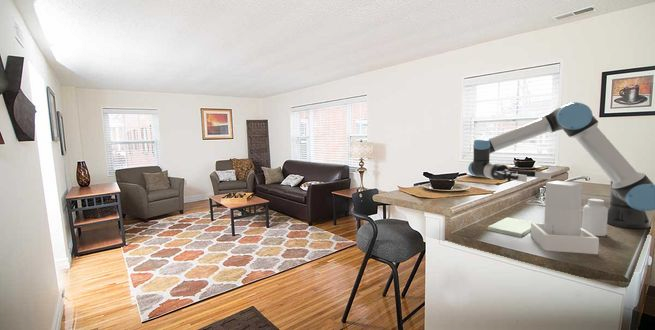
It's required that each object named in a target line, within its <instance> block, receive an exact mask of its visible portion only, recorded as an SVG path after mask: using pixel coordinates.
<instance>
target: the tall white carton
mask: <svg viewBox="0 0 655 330" xmlns="http://www.w3.org/2000/svg"><path fill="white" fill-rule="evenodd" d="M583 187H584V183H583V182H576V181H575V182H574V181H568V180H567V181H566V180H558V179H557V180H552V181H548V182H545V204H544V231H545V232H546V233H547V234H549V235H566V236H580V229H581V228H582V210H583V207H582V204H583Z"/></svg>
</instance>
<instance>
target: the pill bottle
mask: <svg viewBox="0 0 655 330" xmlns="http://www.w3.org/2000/svg"><path fill="white" fill-rule="evenodd" d="M582 210H583V211H582V219H581V228H583V229H585V230H586V231H588V232H589V233H591V234H593V235H594V236H596V237H605V236H606V235H607V229H608V223H607V218H608V207H606V206H605V200H603V199H600V198H588V199H587V204H585V205H584V206H583V207H582Z"/></svg>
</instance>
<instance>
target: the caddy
mask: <svg viewBox="0 0 655 330" xmlns="http://www.w3.org/2000/svg"><path fill="white" fill-rule="evenodd" d="M530 237H531V238H532V240H534V241H535V242H536V243H537V244H538V245H539V246H540V247H541V248H542V249H543V250H544V251H549V252H560V253H574V254H575V253H576V254H589V255H599V243H600V241H599V240H600V238H599V236H594V235H593V234H591V233H589V232H588V231H586V230H585V229H583V228H582V227H581V229H580V236H566V235H549V234H547V233H546V232H545V231H544V223H543V222H541V223H540V222H537V223H531V231H530Z"/></svg>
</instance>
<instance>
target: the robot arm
mask: <svg viewBox="0 0 655 330" xmlns="http://www.w3.org/2000/svg"><path fill="white" fill-rule="evenodd" d="M598 126H599V121H598V119H597V118H596V117H595V115H593V111H592V109H591V108H590V107H589V105H587V104H586V103H583V102H576V101H575V102H569V103H565V104H562V105H561V106H558V108H556V109H554V110H553V111H550V112H548V113H545V114H543V115H542V116H541V117H540V118H538V119H536V120H533V121H532V122H528V123H526V124H524V125H521V126H519V127H515V128H514V129H510V130H508V131H506V132H503V133H501V134H499V135H496V136H494V137H491V138H488V139H487V138H486V139H475V140H474V141H473V159H472V160H473V161H472V162H470V163H469V165H468V167H467V170H468V172H469V174H470V175H471V176H475V177H480V178H487V179H490V180H498V181H505V180H506V181H507V182H511V181H518V182H523V183H527V182H528V181H527V179H528V177H530V178H535V179H543V180H552V179H551V178H552V173H551V172H544V171H539V170H538V169H535V170H529V169H528V170H526V169H513V168H508V166H507V165H505V164H499V163H490V159H491V158H490V155H491V154H492V153H495V152H497V151H500V150H503V149H507V148H508V147H511V146H514V145H516V144H518V143H521V142H524V141H527V140H530V139H532V138H536V137H537V136H540V135H543V134H544V135H545V134H546V133H550V134H551V133H555V132H557V131H561V130H563V131H564V133H565V134H566V135H567V136H568V137H569V138H571V139H576V140H577V142H578V143H579V144H580V145H581V147H582V148H583V149H584V150H585V151H586V152H587V153H588V155H589V156H590V157H591V158H592V160H593V161H595V163H596V164H597V165H598V167H599V168H601V170H602V171H603V172H604V173H605V174H606V176H607V177H608V178H609V180H610V183H609V184H610V193H609V205H608V206H609V207H607V209H608V218H607V225H612V226H616V227H619V228H628V229H640V230H641V229H642V230H643V229H648V228H650V220H649V217H648V214H647V212H650V211H655V184H654V183H653V181H652V180H651V179H650V178H649V177H648V176H647V175H646V174H645V173H644V172H639V171H637V170H636V169H635V168H634V167H633V165H631V164H630V162H629V161H628V160H627V159H626V158H625V157H624V156H623V155H622V153H621V152H620V150H618V149H617V147H616V146H614V144H613V143H612V142H611V141H610V140H609V139H608V138H607V137H606V135H605V134H604V132H602V130H600V128H599V127H598Z"/></svg>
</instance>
